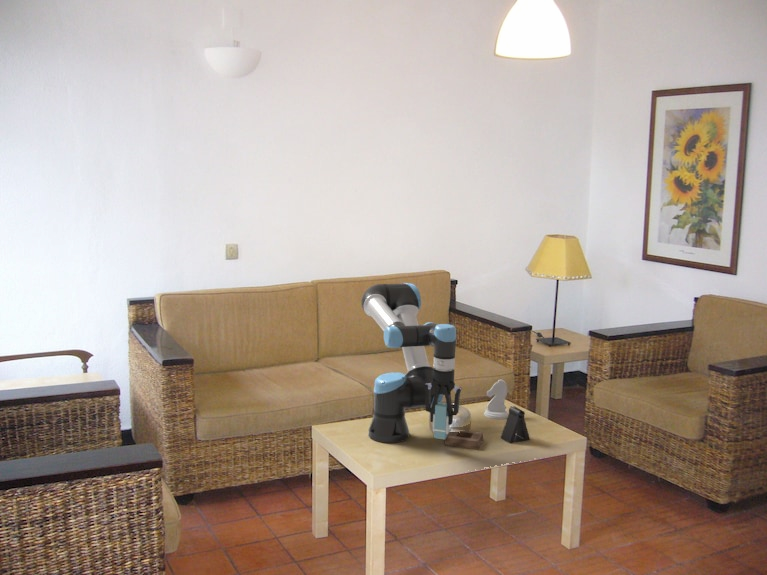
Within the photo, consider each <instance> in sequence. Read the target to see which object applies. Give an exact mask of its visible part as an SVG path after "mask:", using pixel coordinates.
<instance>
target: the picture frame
mask: <svg viewBox="0 0 767 575" xmlns="http://www.w3.org/2000/svg"><path fill="white" fill-rule="evenodd" d="M525 416H526V413H525V411H524V410H523V409H520V408H518V407H516V405H513V406H510V407H509V408H508V417H507V418H506V420H505V421H506V422H505V425H504V427H503V429H502V433H501V435H500V438H501V439H502V440H504V441H506V442H507V443H509V444H515V443H520V442H521V443H523V442H528V441H531V438H530V434H529V431H528V426H527V423H526V420H525Z"/></svg>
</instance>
